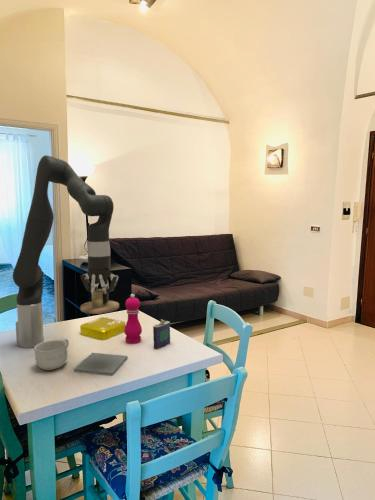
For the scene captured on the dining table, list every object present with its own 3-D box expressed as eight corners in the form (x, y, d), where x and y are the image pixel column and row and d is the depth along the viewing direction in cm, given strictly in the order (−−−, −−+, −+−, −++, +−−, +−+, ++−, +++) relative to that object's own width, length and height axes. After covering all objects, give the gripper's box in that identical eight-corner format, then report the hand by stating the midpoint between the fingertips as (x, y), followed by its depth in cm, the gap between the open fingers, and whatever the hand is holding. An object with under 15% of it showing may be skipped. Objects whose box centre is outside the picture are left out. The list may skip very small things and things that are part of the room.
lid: (73, 312, 124) (72, 294, 123) (91, 302, 137) (90, 286, 136) (110, 314, 121) (109, 296, 121) (124, 304, 134) (124, 287, 133)
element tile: (102, 325, 175) (102, 315, 175) (127, 331, 167) (127, 321, 167) (78, 335, 162) (78, 324, 162) (103, 341, 155) (103, 330, 154)
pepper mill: (121, 342, 153) (120, 295, 150) (130, 336, 159) (129, 291, 157) (136, 345, 150) (135, 296, 147) (145, 339, 157) (144, 292, 154)
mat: (73, 371, 127) (73, 368, 126) (92, 355, 140) (92, 352, 140) (112, 375, 124) (112, 372, 124) (127, 358, 137) (127, 355, 137)
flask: (166, 341, 155) (166, 316, 153) (172, 342, 153) (172, 317, 151) (151, 348, 147) (151, 322, 146) (157, 350, 146) (157, 323, 144)
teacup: (48, 376, 123) (47, 353, 122) (28, 368, 129) (27, 346, 128) (81, 361, 135) (80, 339, 134) (61, 354, 141) (60, 334, 140)
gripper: (74, 255, 125) (76, 305, 127) (114, 256, 122) (115, 307, 124) (85, 252, 132) (86, 299, 134) (122, 253, 129) (123, 301, 132)
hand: (100, 303), depth 129 cm, fingers closed on lid, 3 cm apart
